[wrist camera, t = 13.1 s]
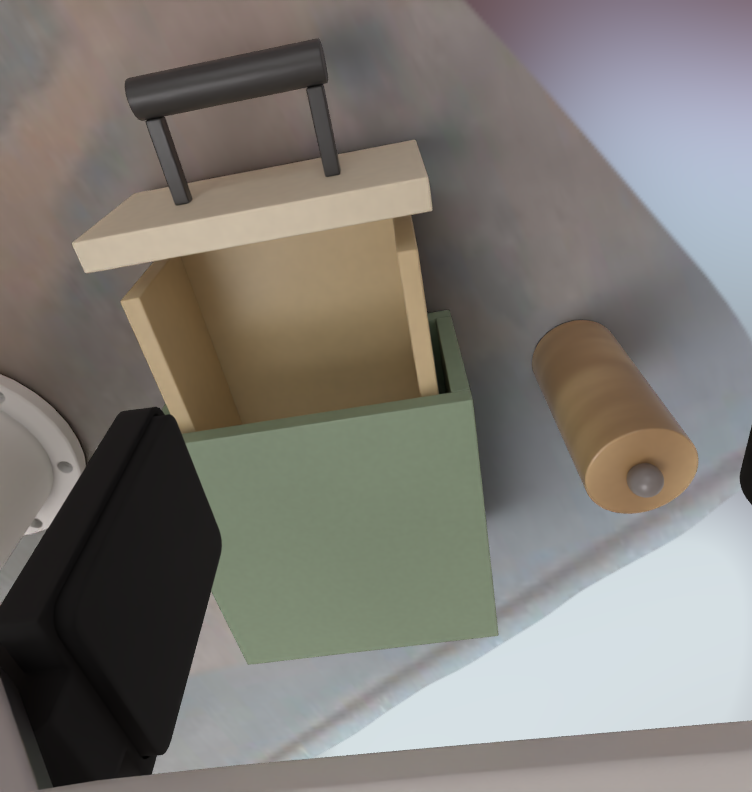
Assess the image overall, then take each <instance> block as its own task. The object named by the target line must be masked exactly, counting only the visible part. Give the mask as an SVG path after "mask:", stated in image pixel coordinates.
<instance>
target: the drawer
mask: <svg viewBox="0 0 752 792" xmlns="http://www.w3.org/2000/svg"><path fill="white" fill-rule="evenodd" d="M326 83H328V73H327V67H326V61H325V56H324V52H323V47H322V44H321V41H320V39H319V38H317V39H312V40H307V41H303V42H298V43H293V44H288V45H284V46H279V47H274V48H269V49H265V50H260V51H255V52H250V53H245V54H241V55H236V56H231V57H226V58H222V59H217V60H212V61H207V62H203V63H198V64H193V65H188V66H184V67H179V68H174V69H169V70H165V71H160V72H155V73H150V74H146V75H141V76H136V77H131V78H128V79H126V81H125V92H126V97H127V100H128V103H129V105H130V108H131V110H132V112H133V113H134V115H135V116H136V117H137V118H138V119H139V120H141V121H144V120H147V121H146V125H147V128H148V131H149V133H150V136H151V139H152V142H153V145H154V147H155V150H156V153H157V156H158V159H159V161H160V164H161V167H162V170H163V173H164V175H165V178H166V181H167V184H168V187H165V188H160V189H155V190H150V191H144V192H139V193H134V194H133V195H132V196H130V197H129V198H128V199H127V200H125V201H124V202H123V203H122V204H120V205H119V206H118V207H117V208H115V209H114V210H113V211H112V212H110V213H109V214H108V215H106V216H105V217H104V218H103V219H101V220H100V221H99V222H98V223H96V224H95V225H94V226H93V227H91V228H90V229H89V230H88V231H86V232H85V233H84V234H83V235H81V236H80V237H79V238H77V239H76V240H75V241H74V242H72V246H73V248H74V250H75V252H76V254H77V256H78V258H79V261H80V263H81V265H82V267H83V269H84V271H85V273H92V272H98V271H103V270H109V269H114V268H120V267H125V266H131V265H136V264H142V263H147V262H153V261H154V262H153V263H152V264H151V266H150V267H149V268H148V269H147V270H146V271H145V273H144V274H143V275H142V276H141V277H140V279H139V280H138V281H137V282H136V283H135V284H134V286H133V287H132V288H131V289H130V290H129V291H128V293H127V294H126V295H125V296H124V297H123V299H122V300H121V304H122V307H123V309H124V311H125V313H126V316H127V318H128V320H129V322H130V325H131V327H132V329H133V331H134V333H135V336H136V338H137V340H138V342H139V345H140V347H141V349H142V351H143V354H144V356H145V358H146V360H147V363H148V365H149V367H150V369H151V372H152V374H153V376H154V378H155V381H156V383H157V385H158V387H159V390H160V392H161V394H162V396H163V399H164V401H165V403H166V405H167V408H168V410H169V412H170V414H171V415H173V416H174V418H175V419H176V421H177V423H178V426H179V428H180V431H181V434H184V433H191V432H197V431H204V430H210V429H217V428H223V427H230V426H236V425H243V424H249V423H256V422H262V421H269V420H275V419H282V418H288V417H295V416H302V415H308V414H315V413H321V412H328V411H334V410H341V409H347V408H354V407H360V406H367V405H373V404H380V403H386V402H393V401H399V400H406V399H412V398H419V397H425V396H432V395H439V391H438V384H437V377H436V370H435V364H434V357H433V350H432V343H431V336H430V329H429V322H428V315H427V308H426V301H425V294H424V288H423V281H422V274H421V267H420V260H419V253H418V247H417V242H416V237H415V232H414V227H413V222H412V217H411V215H413V214H418V213H424V212H429V211H432V209H433V208H432V200H431V192H430V185H429V178H428V175H427V172H426V169H425V166H424V163H423V160H422V157H421V154H420V151H419V148H418V145H417V142H416V140H410V141H405V142H400V143H394V144H389V145H384V146H379V147H374V148H368V149H363V150H358V151H353V152H348V153H342V154H337V149H336V144H335V139H334V134H333V129H332V124H331V119H330V114H329V109H328V104H327V99H326V94H325V89H324V85H323V84H326ZM306 87H308V88H307V90H306V91H307V95H308V100H309V104H310V109H311V114H312V118H313V123H314V128H315V132H316V137H317V141H318V146H319V151H320V155H321V158H316V159H311V160H306V161H301V162H295V163H290V164H285V165H280V166H275V167H269V168H264V169H259V170H254V171H249V172H243V173H238V174H233V175H228V176H223V177H217V178H212V179H207V180H202V181H196V182H191V183H187V181H186V178H185V175H184V172H183V169H182V166H181V163H180V160H179V157H178V154H177V151H176V148H175V145H174V142H173V139H172V137H171V134H170V131H169V128H168V125H167V122H166V119H165V117H164V116H168V115H173V114H178V113H183V112H188V111H193V110H198V109H203V108H208V107H213V106H218V105H223V104H227V103H232V102H237V101H242V100H247V99H252V98H257V97H262V96H267V95H272V94H277V93H282V92H287V91H291V90H296V89H301V88H306Z"/></svg>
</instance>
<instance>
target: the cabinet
mask: <svg viewBox="0 0 752 792" xmlns="http://www.w3.org/2000/svg"><path fill="white" fill-rule="evenodd" d="M427 315H428V322H429V329H430V336H431V343H432V350H433V357H434V364H435V370H436V377H437V384H438V391H439V395H432V396H425V397H419V398H412V399H406V400H399V401H393V402H386V403H380V404H373V405H367V406H360V407H354V408H347V409H341V410H334V411H328V412H321V413H315V414H308V415H302V416H295V417H288V418H282V419H275V420H269V421H262V422H256V423H249V424H243V425H236V426H230V427H223V428H217V429H210V430H204V431H197V432H191V433H184V434H182V436H183V439H184V441H185V444H186V446H187V449H188V451H189V454H190V456H191V459H192V462H193V464H194V467H195V469H196V472H197V474H198V477H199V479H200V482H201V484H202V487H203V489H204V492H205V495H206V497H207V500H208V502H209V505H210V507H211V510H212V512H213V515H214V517H215V520H216V523H217V525H218V528H219V530H220V534H221V539H222V551H221V556H220V560H219V564H218V567H217V571H216V575H215V579H214V582H213V586H212V590H211V592H212V594H213V596H214V598H215V600H216V602H217V604H218V606H219V608H220V610H221V612H222V614H223V616H224V618H225V620H226V622H227V624H228V626H229V628H230V630H231V632H232V634H233V636H234V638H235V640H236V642H237V644H238V646H239V648H240V650H241V652H242V654H243V656H244V658H245V660H246V662H247V664H248V665H250V664H259V663H268V662H276V661H285V660H293V659H302V658H311V657H319V656H328V655H336V654H345V653H354V652H362V651H371V650H379V649H388V648H397V647H405V646H414V645H422V644H431V643H440V642H448V641H457V640H465V639H474V638H483V637H491V636H498V626H497V616H496V607H495V598H494V589H493V580H492V570H491V561H490V552H489V543H488V534H487V524H486V515H485V506H484V497H483V488H482V478H481V469H480V460H479V451H478V442H477V432H476V423H475V414H474V405H473V398H472V394H471V391H470V387H469V383H468V379H467V375H466V371H465V368H464V364H463V360H462V356H461V352H460V348H459V345H458V341H457V337H456V333H455V329H454V325H453V322H452V318H451V314H450V311H449V310H445V311H439V312H433V313H427ZM162 411H163V412H164V414H165V415H167V414H170V412H169V410H168V408H167V405H166V403H165V405H164V407H163V409H162Z"/></svg>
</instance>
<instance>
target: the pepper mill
mask: <svg viewBox="0 0 752 792" xmlns="http://www.w3.org/2000/svg"><path fill="white" fill-rule="evenodd" d="M532 368H533V372H534V375H535V377H536V379H537V382H538V384H539V386H540V388H541V391H542V393H543V395H544V397H545V400H546V402H547V404H548V406H549V409H550V411H551V413H552V415H553V418H554V420H555V422H556V424H557V427H558V429H559V431H560V433H561V435H562V438H563V440H564V442H565V444H566V447H567V449H568V451H569V453H570V456H571V458H572V460H573V462H574V465H575V467H576V469H577V471H578V474H579V476H580V478H581V480H582V483H583V485H584V487H585V489H586V491H587V494H588V495H589V497H590V498H591V499H592V500H593V501H594V502H595V503H596V504H597V505H599V506H600V507H602V508H604V509H606V510H609V511H612V512H616V513H624V514H632V513H641V512H646V511H650V510H653V509H656V508H658V507H661V506H663V505H665V504H667V503H669V502H670V501H672V500H673V499H675V498H676V497H678V496H679V495H680V494H681V493H682V492H683V491H684V490H685V489H686V488H687V487H688V486H689V484H690V483H691V482H692V480H693V478H694V477H695V474H696V472H697V468H698V453H697V450H696V448H695V446H694V444H693V443H692V441H691V440H690V439H689V437H688V436H687V435H686V433H685V432H684V430H683V429H682V428H681V426H680V425H679V424H678V422H677V421H676V420H675V418H674V417H673V416H672V414H671V413H670V412H669V410H668V409H667V407H666V406H665V405H664V403H663V402H662V401H661V399H660V398H659V397H658V395H657V394H656V393H655V391H654V390H653V389H652V387H651V386H650V384H649V383H648V382H647V380H646V379H645V378H644V376H643V375H642V374H641V372H640V371H639V370H638V368H637V367H636V366H635V364H634V363H633V361H632V360H631V359H630V357H629V356H628V355H627V353H626V352H625V351H624V349H623V348H622V347H621V345H620V344H619V343H618V341H617V340H616V338H615V337H614V336H613V334H612V333H611V332H610V331H609V330H608V329H607V328H606V327H605V326H603V325H601V324H599V323H597V322H593V321H588V320H575V321H570V322H567V323H564V324H561V325H559V326H557V327H555V328H554V329H552V330H551V331H549V332H548V333H547V334H546V335H545V336H544V337H543V338H542V339H541V340H540V342H539V343H538V345H537V347H536V349H535V351H534V354H533V359H532Z"/></svg>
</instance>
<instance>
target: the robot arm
mask: <svg viewBox="0 0 752 792" xmlns="http://www.w3.org/2000/svg"><path fill="white" fill-rule="evenodd" d="M740 484H741V488H742V491H743V493H744V495H745V496H746V498H747V499H748V501H749V502H750V503H751V504H752V427H751V431H750V435H749V439H748V443H747V447H746V451H745V455H744V459H743V463H742V468H741V472H740ZM45 529H47V531H46V532H45V534H44V536H43V537H42V539H41V540H40V542H39V544H38V545H37V547H36V549H35V550H34V552H33V553H32V555H31V557H30V558H29V560H28V562H27V563H26V565H25V567H24V568H23V570H22V571H21V573H20V575H19V576H18V578H17V580H16V581H15V583H14V584H13V586H12V588H11V589H10V591H9V593H8V594H7V596H6V597H5V599H4V601H3V602H2V604H1V606H0V792H752V721H740V722H728V723H716V724H705V725H692V726H680V727H668V728H658V729H657V728H656V729H645V730H633V731H621V732H609V733H597V734H586V735H574V736H562V737H551V738H539V739H527V740H516V741H504V742H492V743H481V744H469V745H457V746H446V747H435V748H424V749H413V750H402V751H392V752H380V753H370V754H369V753H368V754H358V755H346V756H335V757H325V758H313V759H302V760H291V761H280V762H269V763H258V764H247V765H236V766H226V767H217V768H208V769H198V770H189V771H180V772H171V773H162V774H152V771H153V768H154V764H155V761H156V757H157V755H163V754H164V753H165V752H166V751H167V749H168V747H169V745H170V742H171V739H172V735H173V731H174V728H175V724H176V720H177V716H178V713H179V709H180V705H181V701H182V698H183V694H184V690H185V687H186V683H187V679H188V675H189V672H190V668H191V664H192V660H193V657H194V653H195V649H196V646H197V642H198V638H199V634H200V631H201V627H202V623H203V619H204V616H205V612H206V608H207V605H208V601H209V597H210V593H211V590H212V586H213V582H214V579H215V575H216V571H217V567H218V564H219V560H220V556H221V551H222V539H221V534H220V530H219V528H218V525H217V523H216V520H215V517H214V515H213V512H212V510H211V507H210V505H209V502H208V500H207V497H206V495H205V492H204V489H203V487H202V484H201V482H200V479H199V477H198V474H197V472H196V469H195V467H194V464H193V462H192V459H191V456H190V454H189V451H188V449H187V446H186V444H185V441H184V439H183V436H182V434H181V431H180V428H179V426H178V423H177V421H176V419H175V418H174V416H173V415H171V414H167V415H165V414H164V412H163V411H162V410H161V409H160V408H158V407H152V408H144V409H136V410H128V411H123V412H120V413H119V414H118V415H117V417H116V418H115V420H114V422H113V423H112V425H111V427H110V428H109V430H108V431H107V433H106V435H105V436H104V438H103V440H102V441H101V443H100V444H99V446H98V448H97V449H96V451H95V453H94V454H93V456H92V458H91V459H90V461H89V462H88V464H87V466H86V463H85V457H84V453H83V451H82V448H81V446H80V443H79V441H78V439H77V437H76V435H75V434H74V432H73V431H72V429H71V428H70V426H69V425H68V423H67V422H66V421H65V420H64V419H63V418H62V417H61V416H60V414H59V413H58V412H57V411H56V410H55V409H54V408H53V407H52V406H51V405H50V404H48V403H47V402H46V401H45V400H43V399H42V398H41V397H40V396H38V395H37V394H36V393H35V392H33V391H31V390H30V389H28V388H26V387H25V386H23V385H21V384H20V383H18V382H16V381H15V380H12V379H10V378H8V377H6V376H3V375H1V374H0V570H1V569H2V567H3V566H4V564H5V563H6V561H7V560H8V558H9V557H10V555H11V554H12V552H13V550H14V549H15V547H16V546H17V544H18V543H19V541H20V540H21V538H22V537H23V535H28V534H34V533H37V532H40V531H42V530H45Z"/></svg>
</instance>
